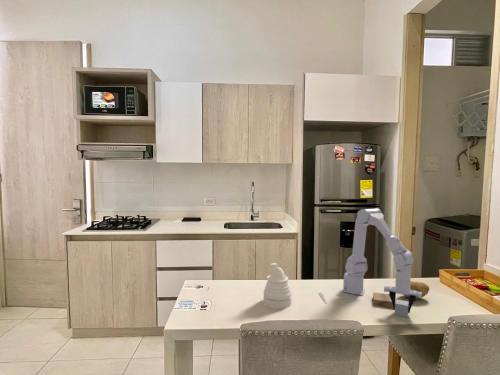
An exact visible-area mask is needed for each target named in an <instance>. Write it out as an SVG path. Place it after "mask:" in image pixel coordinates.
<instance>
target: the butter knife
mask: <svg viewBox="0 0 500 375" xmlns="http://www.w3.org/2000/svg"><path fill="white" fill-rule="evenodd" d="M317 294H318V296H319V298H320V299H321V300H322V301H323V302H324V304H325V305H326V304H328V302H327V301H326V298H325V296H324V294H323V293H322V292H321V291H320V292H318V293H317Z"/></svg>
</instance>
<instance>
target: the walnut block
mask: <svg viewBox="0 0 500 375" xmlns="http://www.w3.org/2000/svg"><path fill="white" fill-rule="evenodd" d="M372 301H373V305H374V306H377V307H378V306H379V307H386V308H393V304H392V301H391V298H390V296H389V293H382V292H373V293H372Z"/></svg>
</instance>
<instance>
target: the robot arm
mask: <svg viewBox="0 0 500 375" xmlns="http://www.w3.org/2000/svg"><path fill="white" fill-rule="evenodd" d="M369 225H371V226H375V227H376V228H377V230H378V231H379V232H380V234H382V236H383V237H384V239H385V240H386V241H385V244H386V247H387V248H388V249H389V251H390V252H391V254H392V255H393V256H394V257H393V262H394V265H395V286H387V285H384V287H383V292H386V293H388V294H389V296H390V298H391V301H392V304H393V311H395V302H396V297H397V294H399V295H402V294H403V295H402V296H404V295H409V298H408V302H409V306H408V314H410V313H411V309H412V306H413V304H414V303H415V301H416V300H417V299H416V297H419V299H422V298H423V297H422V292H418V291H414V290H411V289H410V281H412V280H411V279H412V278H411V277H412V265H413V264H414V263H415V260H416V259H415V256H414V253H413V251H412V252H411V251H410V250H408V249H407V248H406V247H405V246H404V245H403V243H402V242H401V241H402V240H401V239H400V237H398V236H396V235H393V232H392V231H391V229H390V228H389V225H388V224H387V222H386V221H385V219H384V213H382V210H381V209H380V208H362V209H360V210H358V211H357V214H356V218H355V224H354V236H353V243H352V252H351V253H352V254H351V255H350V256H349V257H348V258H347V260H346V263H345V268H344V269H345V271H346V272H345V273H344V274H343V286H342V288H343V289H342V293H348V294H353V295H358V296H363V295H364V293H365V292H366V291H365V290H366V289H364V280H365V279H364V276H365V275H366V273H367V271H368V263H367V262H368V260H367V258H366V257H365V249H366V248H365V247H366V239H367V238H366V237H367V230H368V229H367V228H368V226H369Z"/></svg>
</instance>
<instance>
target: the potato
mask: <svg viewBox="0 0 500 375" xmlns="http://www.w3.org/2000/svg"><path fill="white" fill-rule="evenodd" d="M410 289H411V290H414V291H418V292H422V298H423V297H425V296H427V295H428V294H429V291H430V286H429V285H428V284H426V283H424V282H419V281H412V280H411V281H410ZM401 295H402V296H403V297H405V298H408V299H409V295H403V294H401ZM418 299H420V298H419V297H416V300H418Z"/></svg>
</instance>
